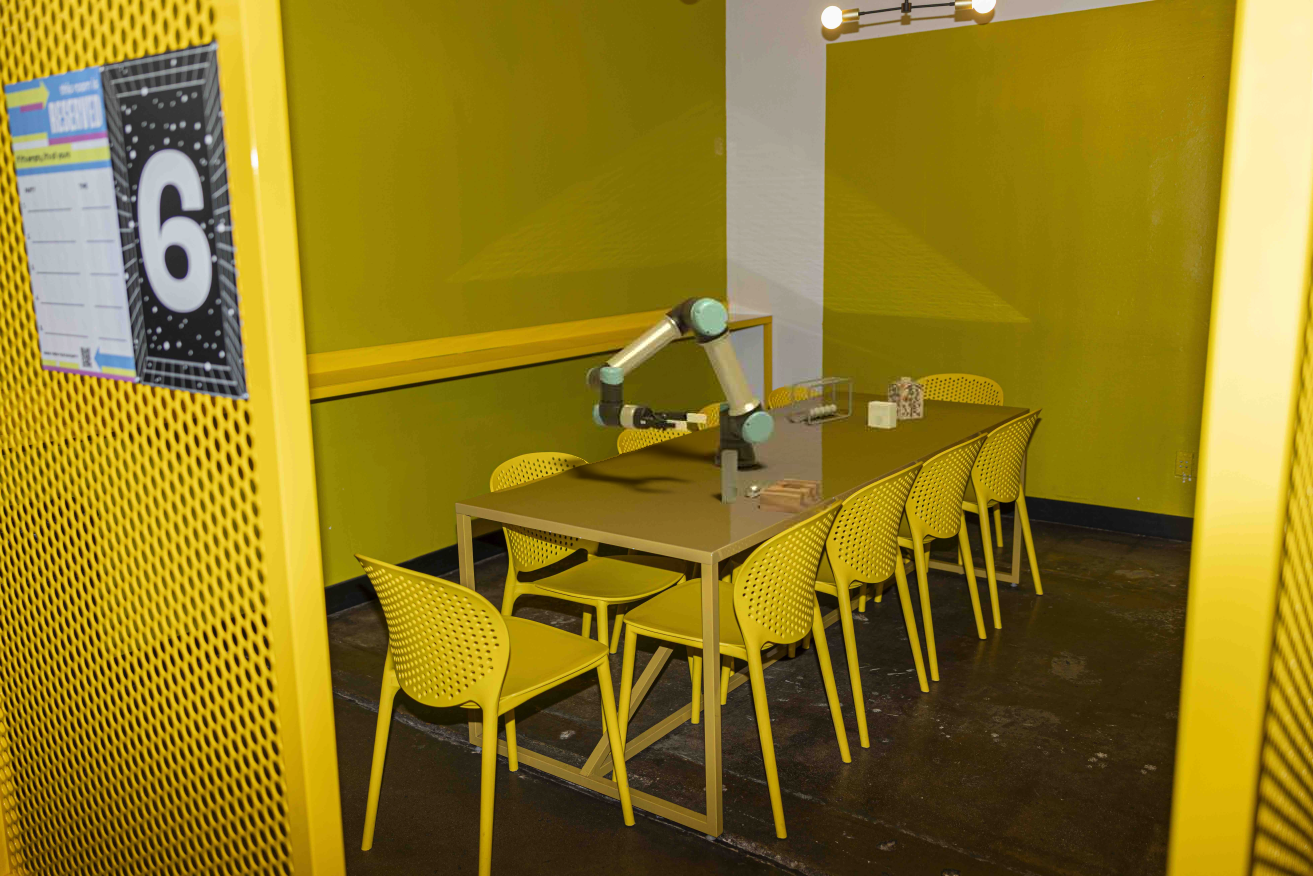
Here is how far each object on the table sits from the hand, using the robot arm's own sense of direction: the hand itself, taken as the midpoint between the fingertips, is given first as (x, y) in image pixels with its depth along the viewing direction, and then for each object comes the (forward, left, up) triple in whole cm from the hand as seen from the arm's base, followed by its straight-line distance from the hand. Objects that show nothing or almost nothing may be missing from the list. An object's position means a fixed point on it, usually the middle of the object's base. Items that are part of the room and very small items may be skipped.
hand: (696, 422), depth 307 cm
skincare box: (-136, +20, -24) cm, 140 cm away
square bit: (+1, +12, -24) cm, 27 cm away
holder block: (-5, +30, -24) cm, 39 cm away
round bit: (-11, +17, -23) cm, 31 cm away
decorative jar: (-161, +23, -24) cm, 165 cm away
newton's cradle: (-141, -9, -24) cm, 144 cm away
